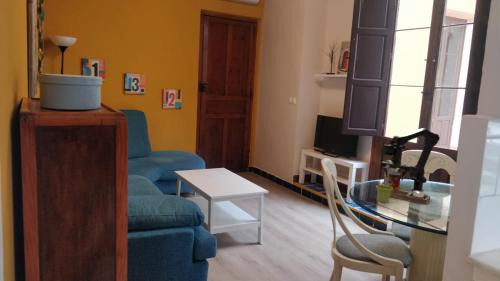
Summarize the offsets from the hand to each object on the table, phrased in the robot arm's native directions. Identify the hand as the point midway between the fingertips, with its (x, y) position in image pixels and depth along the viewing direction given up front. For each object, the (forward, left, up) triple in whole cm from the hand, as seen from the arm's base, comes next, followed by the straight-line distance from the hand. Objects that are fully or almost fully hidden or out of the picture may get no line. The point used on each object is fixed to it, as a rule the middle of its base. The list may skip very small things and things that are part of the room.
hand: (394, 179), depth 260 cm
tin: (+11, +17, -8) cm, 22 cm away
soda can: (0, 0, -8) cm, 8 cm away
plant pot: (+29, +2, -8) cm, 30 cm away
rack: (+11, +12, -8) cm, 18 cm away
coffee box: (-19, -8, -8) cm, 22 cm away
